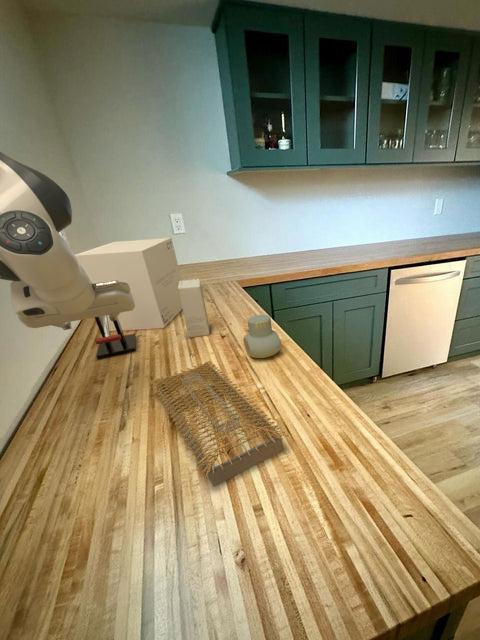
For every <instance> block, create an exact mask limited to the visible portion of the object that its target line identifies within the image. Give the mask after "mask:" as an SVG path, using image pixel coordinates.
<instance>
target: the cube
mask: <svg viewBox="0 0 480 640" xmlns="http://www.w3.org/2000/svg"><path fill="white" fill-rule="evenodd" d="M75 256H76V258H77V260H78V264H79V265H80V266H81V267H82V268H83V269H84V271H85V272H86V274H87V275H88V277H89V279H90V280H91V282H92V284H94V283H100V282H107V281H120V282H126V283H127V284H128V285H129V287H130V292H131V294H132V296H133V300H134V304H135V308H134V309H133V310H132V311H127V312H121V313H120V314H119V315H118V319H119V322H120V325H121V328H122V330H123V331H135V330H154V329H164V328H166V327H167V326H168V325H169V324H170V323H171V321H173V319H174V318H175V317H176V316H177V315H178V314H179V313H181V311H183V308H182V304H181V300H180V296H179V291H178V284H179V281H183V279H182V275H181V272H180V267H179V262H178V259H177V255H176V252H175V248H174V243H173V238H172V237H162V238H147V239H135V240H121V241H119V240H118V241H113V242H109V243H106V244H103V245H100V246H97V247H93V248H90V249H88V250H85V251H82V252H79V253H76V254H75ZM101 317H102V316H101ZM107 318H108V324H109V330H110V332H117V331H116V328H115V326H114V323H113V321H111V320H110V318H109V315H107Z"/></svg>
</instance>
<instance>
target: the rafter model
mask: <svg viewBox="0 0 480 640" xmlns="http://www.w3.org/2000/svg"><path fill="white" fill-rule="evenodd" d="M216 366H217V365H215V363H213V362H212V361H211V360H208V361H205V362H204V363H199V365H198V366H197V365H193V368H190V367H187V368H186V369H187V370H182V369H180V372H179V373H178V372H174V375H173V374H172V375H170V374H167V376H165V377H163V376H160V378H159V377H158V378H154V379H151V380H148V382H149V384H150V385H151V387H152V389H153V391H155V394H156V396H157V397H158V399H159V400H160V402H162V405H164V407H163V408H164V409H166V410H165V412H168V415H170V417H169V418H170V419H172V422H174V426H177V427H176V430H179V432H178V433H179V434H181V438H184V440H183V442H186V443H187V444H186V447H189V451H192V454H191V455H192V456H195V458H194V461H196V460H197V461H198V462H197V465H199V466H198V467H199V468H202V473H203V474H204V473H205V474H206V475H205V478H208V480H209V481H210V483H211V484H212V486H213V487H216V486H218V485H220V484H222V483H224V482H226V481H228V480H230V479H232V478H233V477H236V476H237V475H240V474H241V473H243V472H246V471H247V470H249V469H251V468H253V467H254V466H257V465H259V464H261V463H263V462H264V461H266V460H268V459H271V458H272V457H274V456H276V455H278V454H280V453H282V452H283V451H284V445H283V440H284V438H283V437H287V438H289V437H290V436H289V434H285V433H286V431H283V430H280V429H281V426H279V425H278V424H276V423H275V422H276V421H271V419H272V417H268V414H263V413H264V412H265V411H264V410H261V411H258V410H260V409H261V408H260V407H257V404H253V403H254V401H253V400H251V398H250V397H248V395H247V394H245V392H244V391H242V389H240V388H239V386H236V383H233V381H231V378H228V376H226V375H225V373H223V371H221V369H218V368H219V367H216ZM238 388H239V389H238ZM224 398H225V399H224ZM249 400H250V401H249ZM227 401H228V402H227ZM213 402H214V403H213ZM229 405H230V406H229ZM232 408H234V409H232ZM219 409H220V410H219ZM211 411H212V412H211ZM209 412H211V413H209ZM234 412H236V413H234ZM190 415H191V416H190ZM213 415H215V416H213ZM238 415H239V416H238ZM265 417H268V418H265ZM194 418H196V419H194ZM217 418H219V419H218V420H215V419H217ZM193 419H194V420H193ZM222 421H223V422H222ZM268 421H269V422H268ZM197 422H198V423H197ZM219 422H222V423H221V424H218V423H219ZM193 423H194V424H193ZM273 424H276V425H273ZM200 425H201V427H198V426H200ZM196 427H197V428H196ZM203 429H204V430H203ZM251 429H252V432H250V430H251ZM201 430H203V431H201ZM198 431H200V432H198ZM243 432H245V434H244V433H243ZM205 433H207V435H203V434H205ZM202 435H203V436H202ZM240 435H242V436H241V437H240ZM235 436H237V437H238V438H237V439H235V440H233V438H234V437H235ZM262 436H266V437H267V438H268V440H266V441H265V440H264V439H263V438H262ZM208 437H210V439H208V440H205V439H207V438H208ZM255 438H257V439H258V440H259V441H260V442H261V443H260V444H258V445H256V444H255V442H254V441H253V439H255ZM215 440H216V441H215ZM232 440H233V441H232ZM212 441H213V443H212V444H208V443H210V442H212ZM238 442H239V443H238ZM247 442H249V443H250V444H251V445H252V446H253V447H252V448H250V449H249V450H248V449H247V447H246V446H245V443H247ZM233 443H234V444H233ZM222 444H223V445H222ZM216 445H217V447H214V446H216ZM238 446H241V447H242V448H243V450H244V452H241V453H240V454H239V453H238V452H237V449H236V448H237V447H238ZM212 447H214V448H212ZM220 449H221V450H220ZM231 450H232V451H233V453H235V454H236V456H233V457H231V458H230V457H229V455H228V453H227V452H228V451H231ZM208 451H209V452H208ZM206 452H207V453H206ZM220 455H224V456H225V458H226V459H227V460H226V461H224V462H222V463H221V462H220V460H219V458H218V457H219V456H220ZM216 462H217V465H215V463H216Z"/></svg>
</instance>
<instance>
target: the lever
mask: <svg viewBox="0 0 480 640" xmlns="http://www.w3.org/2000/svg"><path fill="white" fill-rule="evenodd" d="M102 320H103V326H104V332H105V337H103V338H102V337H99V338H94V342H95V345H99V344H101V343H106V342H111V341H116V340H121V335H120V334H112V335H111V331H110V330H109V324H108V318H107V315H105V316H102Z"/></svg>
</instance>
